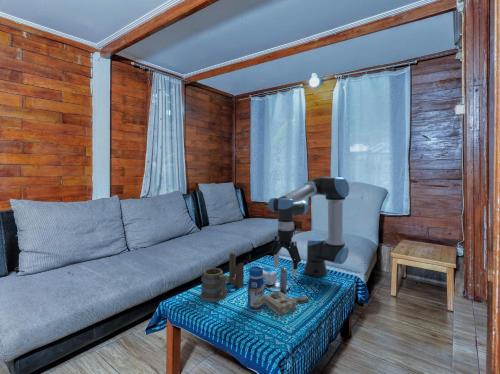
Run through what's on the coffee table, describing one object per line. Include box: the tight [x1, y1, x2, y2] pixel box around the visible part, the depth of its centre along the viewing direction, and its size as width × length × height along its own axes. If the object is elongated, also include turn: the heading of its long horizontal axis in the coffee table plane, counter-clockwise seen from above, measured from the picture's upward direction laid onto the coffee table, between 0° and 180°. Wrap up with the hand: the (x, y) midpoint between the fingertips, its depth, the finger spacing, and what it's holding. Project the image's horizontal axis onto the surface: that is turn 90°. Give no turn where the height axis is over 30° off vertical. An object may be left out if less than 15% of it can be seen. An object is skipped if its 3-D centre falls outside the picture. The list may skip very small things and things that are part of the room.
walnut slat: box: [291, 296, 309, 304], centre depth 143 cm, size 9×3×2 cm, turn 108°
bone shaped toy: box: [257, 265, 279, 286], centre depth 168 cm, size 15×9×8 cm, turn 41°
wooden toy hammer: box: [227, 252, 245, 288], centre depth 163 cm, size 4×11×18 cm, turn 42°
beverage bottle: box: [246, 266, 265, 312], centre depth 136 cm, size 8×8×20 cm
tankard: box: [199, 267, 229, 303], centre depth 144 cm, size 20×13×15 cm, turn 40°
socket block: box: [264, 290, 298, 316], centre depth 139 cm, size 11×14×4 cm
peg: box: [279, 266, 288, 295], centre depth 153 cm, size 4×4×14 cm
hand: (284, 270), depth 138 cm, fingers open, 13 cm apart
